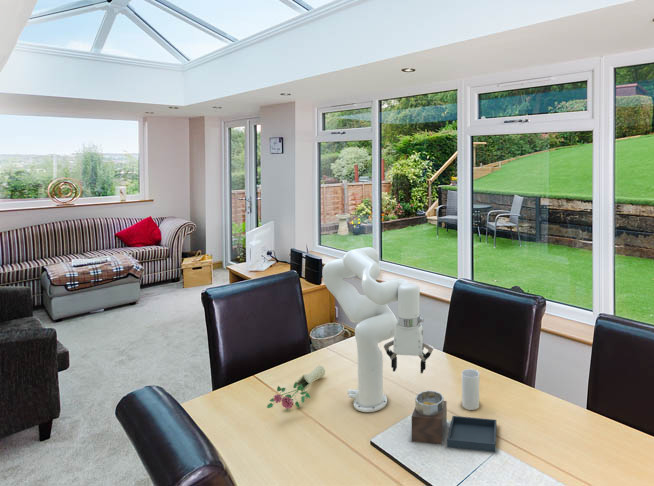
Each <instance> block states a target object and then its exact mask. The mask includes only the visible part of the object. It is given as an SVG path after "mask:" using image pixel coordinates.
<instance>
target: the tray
mask: <svg viewBox="0 0 654 486" xmlns="http://www.w3.org/2000/svg"><path fill="white" fill-rule="evenodd" d="M497 423H498V422H497V419H493V418H483V417H482V418H481V417H470V416H459V415H452V417H451V421H450V426H449V430H448V434H447V439H446V445H447V446H446V447H447V448H449V449H459V450H469V451H476V452H477V451H478V452H488V453H496V450H497V449H496V448H497V446H496V445H497V427H498V426H497V425H498V424H497Z"/></svg>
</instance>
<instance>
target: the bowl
mask: <svg viewBox="0 0 654 486" xmlns="http://www.w3.org/2000/svg"><path fill="white" fill-rule="evenodd" d="M426 401H427V402H429V403H437V404H433V405H424V404H423V403H424V402H426ZM444 401H445V399H444V396H443V394H442V393H441V392H438V391H436V390H424V391H421V392H419V393H418V394H416V397H415V401H414V403H415V404H414V405H415V406H414V409H415V408H416V411H417V412H418V413H419V414H421V415H423V416H435V415H438V414H440V413H441V412H442V411H443V406H444Z"/></svg>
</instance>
